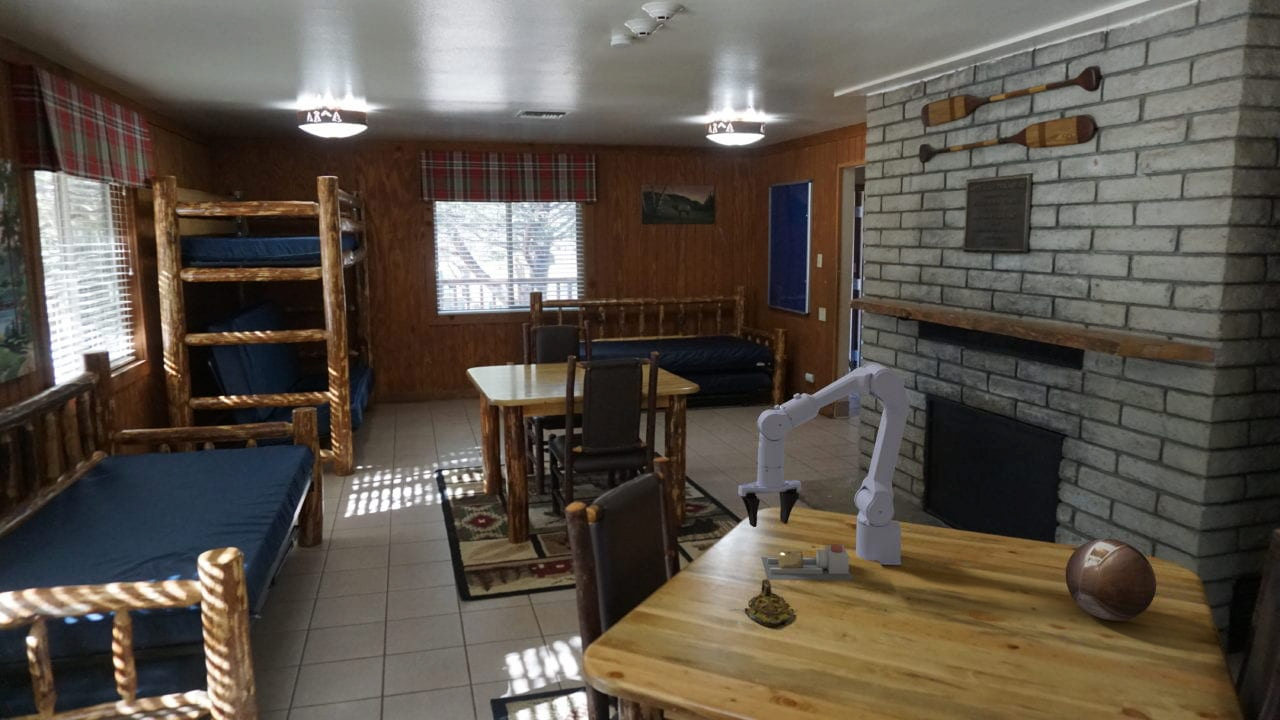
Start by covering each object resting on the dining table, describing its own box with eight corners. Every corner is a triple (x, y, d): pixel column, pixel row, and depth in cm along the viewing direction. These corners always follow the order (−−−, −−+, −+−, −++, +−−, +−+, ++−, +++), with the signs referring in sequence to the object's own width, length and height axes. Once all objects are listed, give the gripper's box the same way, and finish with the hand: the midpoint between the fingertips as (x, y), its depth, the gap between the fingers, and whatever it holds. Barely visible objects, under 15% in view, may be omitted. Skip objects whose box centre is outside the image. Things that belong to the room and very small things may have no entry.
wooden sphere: (1051, 617, 162) (1056, 542, 159) (1078, 593, 172) (1083, 522, 170) (1139, 643, 151) (1146, 563, 149) (1162, 615, 162) (1169, 540, 159)
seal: (799, 635, 159) (784, 599, 173) (802, 611, 158) (788, 578, 173) (750, 630, 158) (739, 595, 173) (753, 606, 158) (742, 573, 172)
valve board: (842, 562, 189) (843, 536, 188) (853, 584, 178) (854, 556, 177) (761, 561, 190) (761, 535, 189) (767, 583, 178) (767, 556, 177)
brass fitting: (800, 561, 186) (801, 547, 184) (802, 573, 182) (803, 559, 180) (777, 561, 186) (778, 546, 184) (779, 573, 182) (780, 559, 180)
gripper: (791, 457, 193) (788, 515, 195) (733, 462, 188) (731, 521, 190) (807, 466, 186) (804, 525, 188) (747, 470, 182) (744, 531, 184)
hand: (768, 523), depth 189 cm, fingers open, 7 cm apart
